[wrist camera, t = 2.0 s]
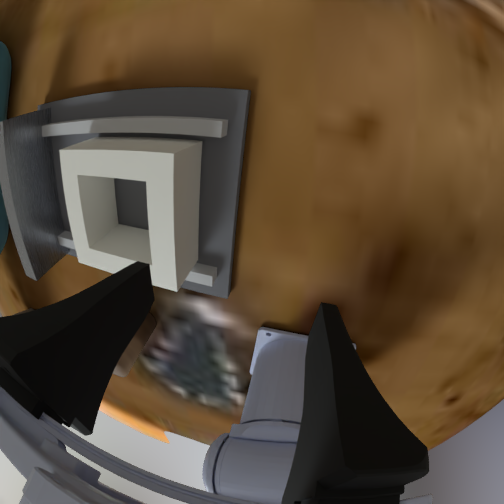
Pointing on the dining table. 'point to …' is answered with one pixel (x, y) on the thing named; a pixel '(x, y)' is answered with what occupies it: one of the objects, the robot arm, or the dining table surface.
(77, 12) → the dining table surface
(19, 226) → the stop wall
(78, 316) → the robot arm
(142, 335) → the dowel
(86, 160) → the sliding block
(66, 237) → the slide board
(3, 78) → the casserole dish
